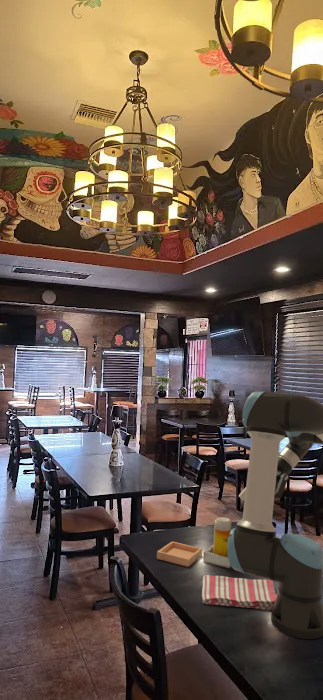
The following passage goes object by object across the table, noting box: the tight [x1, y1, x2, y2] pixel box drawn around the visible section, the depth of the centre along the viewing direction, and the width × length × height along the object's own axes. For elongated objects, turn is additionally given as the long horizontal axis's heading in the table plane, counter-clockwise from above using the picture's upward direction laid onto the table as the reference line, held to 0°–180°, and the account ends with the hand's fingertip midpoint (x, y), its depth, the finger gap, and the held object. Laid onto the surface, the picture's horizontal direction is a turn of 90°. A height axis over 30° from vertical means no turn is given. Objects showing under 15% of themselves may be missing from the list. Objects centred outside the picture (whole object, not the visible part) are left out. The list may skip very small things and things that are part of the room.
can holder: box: [202, 544, 232, 569], centre depth 177 cm, size 10×10×4 cm
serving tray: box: [156, 541, 203, 568], centre depth 178 cm, size 13×13×2 cm
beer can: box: [212, 516, 232, 557], centre depth 177 cm, size 6×6×15 cm
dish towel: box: [201, 574, 278, 611], centre depth 151 cm, size 17×23×4 cm
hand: (250, 503), depth 182 cm, fingers open, 13 cm apart
